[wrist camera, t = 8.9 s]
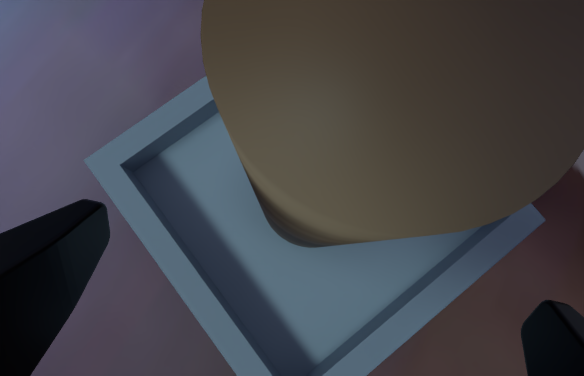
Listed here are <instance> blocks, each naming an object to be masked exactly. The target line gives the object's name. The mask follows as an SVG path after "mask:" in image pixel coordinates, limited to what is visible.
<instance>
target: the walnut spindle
mask: <svg viewBox="0 0 584 376" xmlns="http://www.w3.org/2000/svg"><path fill="white" fill-rule="evenodd" d="M201 44H202V55H203V63H204V67H205V72H206V76H207V80H208V84H209V88H210V90H211V93H212V96H213V98H214V101H215V103H216V106H217V108H218V111H219V113H220V116H221V118H222V120H223V122H224V125H225V127H226V129H227V131H228V134H229V136H230V138H231V141H232V143H233V145H234V147H235V150H236V152H237V154H238V156H239V159H240V161H241V163H242V166H243V168H244V170H245V172H246V175H247V177H248V179H249V181H250V184H251V186H252V188H253V191H254V193H255V195H256V197H257V200H258V202H259V204H260V206H261V209H262V211H263V213H264V216H265V218H266V220H267V222H268V223H269V225H270V226H271V228H272V229H273V230H274V231H275V232H276V233H277V234H278V235H279V236H280V237H282V238H283V239H285V240H286V241H288V242H290V243H292V244H294V245H298V246H301V247H308V248H317V247H327V246H336V245H346V244H355V243H364V242H374V241H383V240H393V239H402V238H411V237H421V236H430V235H438V234H446V233H454V232H461V231H465V230H469V229H473V228H476V227H480V226H484V225H488V224H490V223H492V222H495V221H497V220H499V219H502V218H504V217H506V216H509V215H511V214H513V213H515V212H517V211H518V210H520V209H522V208H523V207H525V206H527V205H528V204H530V203H532V202H533V201H535V200H537V199H538V198H539V197H540V196H541V195H543V194H544V193H545V192H546V191H548V190H549V189H550V188H551V187H552V186H554V185H555V184H556V183H557V182H558V181H559V180H560V179H561V178H562V177H563V175H564V174H565V173H566V172H567V171H568V170H569V169H570V168H571V167H572V165H573V164H574V163H575V162H576V160H577V159H578V157H579V156H580V154H581V152H582V151H583V150H584V0H204V3H203V8H202V21H201Z"/></svg>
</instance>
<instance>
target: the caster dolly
mask: <svg viewBox="0 0 584 376" xmlns="http://www.w3.org/2000/svg"><path fill="white" fill-rule="evenodd" d="M84 162H85V163H86V164H87V166H88V167H89V169H90V170H91V171H92V173H93V174H94V176H95V177H96V178H97V180H98V181H99V183H100V184H101V185H102V187H103V188H104V190H105V191H106V192H107V194H108V195H109V197H110V198H111V199H112V201H113V202H114V204H115V205H116V206H117V208H118V209H119V211H120V212H121V213H122V215H123V216H124V218H125V219H126V220H127V222H128V223H129V225H130V226H131V228H132V229H133V230H134V232H135V233H136V235H137V236H138V237H139V239H140V240H141V242H142V243H143V244H144V246H145V247H146V249H147V250H148V251H149V253H150V254H151V256H152V257H153V258H154V260H155V261H156V263H157V264H158V265H159V267H160V268H161V270H162V271H163V272H164V274H165V275H166V277H167V278H168V279H169V281H170V282H171V284H172V285H173V286H174V288H175V289H176V291H177V292H178V293H179V295H180V296H181V298H182V299H183V300H184V302H185V303H186V305H187V306H188V307H189V309H190V310H191V312H192V313H193V314H194V316H195V317H196V319H197V320H198V322H199V323H200V324H201V326H202V327H203V329H204V330H205V331H206V333H207V334H208V336H209V337H210V338H211V340H212V341H213V343H214V344H215V345H216V347H217V348H218V350H219V351H220V352H221V354H222V355H223V357H224V358H225V359H226V361H227V362H228V364H229V365H230V366H231V368H232V369H233V371H234V372H235V373H236V375H237V376H366V375H367V374H369V373H370V372H371V371H372V370H373V369H374V368H376V367H377V366H378V365H379V364H380V363H381V362H382V361H384V360H385V359H386V358H387V357H388V356H389V355H391V354H392V353H393V352H394V351H395V350H396V349H397V348H399V347H400V346H401V345H402V344H403V343H404V342H406V341H407V340H408V339H409V338H410V337H411V336H413V335H414V334H415V333H416V332H417V331H418V330H419V329H421V328H422V327H423V326H424V325H425V324H426V323H428V322H429V321H430V320H431V319H432V318H433V317H434V316H436V315H437V314H438V313H439V312H440V311H441V310H443V309H444V308H445V307H446V306H447V305H448V304H449V303H451V302H452V301H453V300H454V299H455V298H456V297H458V296H459V295H460V294H461V293H462V292H463V291H465V290H466V289H467V288H468V287H469V286H470V285H471V284H473V283H474V282H475V281H476V280H477V279H478V278H480V277H481V276H482V275H483V274H484V273H485V272H486V271H488V270H489V269H490V268H491V267H492V266H493V265H495V264H496V263H497V262H498V261H499V260H500V259H501V258H503V257H504V256H505V255H506V254H507V253H508V252H510V251H511V250H512V249H513V248H514V247H515V246H517V245H518V244H519V243H520V242H521V241H522V240H523V239H525V238H526V237H527V236H528V235H529V234H530V233H532V232H533V231H534V230H535V229H536V228H537V227H538V226H540V225H541V224H542V223H543V222H544V221H545V219H544V217H543V216H542V215H541V214H540V213H539V212H538V211H537V209H536V208H535V207H534V206H533V205H532V204H531V203H530V204H528V205H527V206H525V207H523V208H522V209H520V210H518V211H517V212H515V213H513V214H511V215H509V216H506V217H504V218H502V219H499V220H497V221H495V222H492V223H490V224H488V225H484V226H480V227H476V228H473V229H469V230H465V231H461V232H454V233H446V234H438V235H430V236H421V237H411V238H402V239H393V240H383V241H374V242H364V243H355V244H346V245H336V246H327V247H317V248H308V247H301V246H298V245H294V244H292V243H290V242H288V241H286V240H285V239H283V238H282V237H280V236H279V235H278V234H277V233H276V232H275V231H274V230H273V229H272V228H271V226H270V225H269V223H268V222H267V220H266V218H265V216H264V213H263V211H262V209H261V206H260V204H259V202H258V200H257V197H256V195H255V193H254V191H253V188H252V186H251V184H250V181H249V179H248V177H247V175H246V172H245V170H244V168H243V166H242V163H241V161H240V159H239V156H238V154H237V152H236V150H235V147H234V145H233V143H232V141H231V138H230V136H229V134H228V131H227V129H226V127H225V125H224V122H223V120H222V118H221V116H220V113H219V111H218V108H217V106H216V103H215V101H214V98H213V96H212V93H211V90H210V88H209V84H208V80H207V76H205V77H204V78H202V79H201V80H199V81H198V82H196V83H195V84H194V85H192V86H191V87H189V88H188V89H186V90H185V91H183V92H182V93H180V94H179V95H178V96H176V97H175V98H173V99H172V100H170V101H169V102H167V103H166V104H165V105H163V106H162V107H160V108H159V109H157V110H156V111H154V112H153V113H151V114H150V115H149V116H147V117H146V118H144V119H143V120H141V121H140V122H138V123H137V124H136V125H134V126H133V127H131V128H130V129H128V130H127V131H125V132H124V133H122V134H121V135H120V136H118V137H117V138H115V139H114V140H112V141H111V142H109V143H108V144H107V145H105V146H104V147H102V148H101V149H99V150H98V151H96V152H95V153H93V154H92V155H91V156H89V157H88V158H86V159H85V160H84Z"/></svg>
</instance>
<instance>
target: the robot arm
mask: <svg viewBox="0 0 584 376" xmlns="http://www.w3.org/2000/svg"><path fill="white" fill-rule="evenodd" d="M109 238H110V228H109V221H108V214H107V208H106V206H105V204H103V203H102V202H97V201H93V200H88V199H82V200H79V201H77V202H74V203H72V204H70V205H67V206H65V207H63V208H60V209H58V210H55V211H53V212H51V213H48V214H46V215H43V216H41V217H39V218H36V219H34V220H31V221H29V222H27V223H24V224H22V225H20V226H17V227H15V228H12V229H10V230H8V231H5V232H3V233H0V376H30V375H31V374H32V372H33V371H34V369H35V368H36V366H37V365H38V363H39V362H40V360H41V359H42V357H43V356H44V354H45V353H46V351H47V350H48V348H49V347H50V345H51V343H52V342H53V340H54V339H55V337H56V336H57V334H58V333H59V331H60V330H61V328H62V327H63V325H64V324H65V322H66V321H67V319H68V318H69V316H70V314H71V313H72V311H73V310H74V308H75V306H76V304H77V302H78V301H79V299H80V297H81V295H82V293H83V291H84V289H85V287H86V285H87V283H88V281H89V279H90V278H91V276H92V274H93V272H94V270H95V268H96V266H97V264H98V262H99V260H100V258H101V256H102V254H103V252H104V250H105V248H106V246H107V244H108V242H109ZM521 338H522V344H523V350H524V356H525V362H526V368H527V374H528V376H584V317H583V316H581V315H580V314H579V313H578V312H577V311H576V310H575V309H573V308H572V307H571V306H570V305H568V304H565V303H561V302H556V301H552V300H545V301H543V302H541V303H540V304H539V305H538V306H537V308H536V309H535V310H534V311H533V312H532V313H531V314H530V316H529V317H528V318H527V319H526V320H525V321H524V323H523V325H522V328H521Z"/></svg>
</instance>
